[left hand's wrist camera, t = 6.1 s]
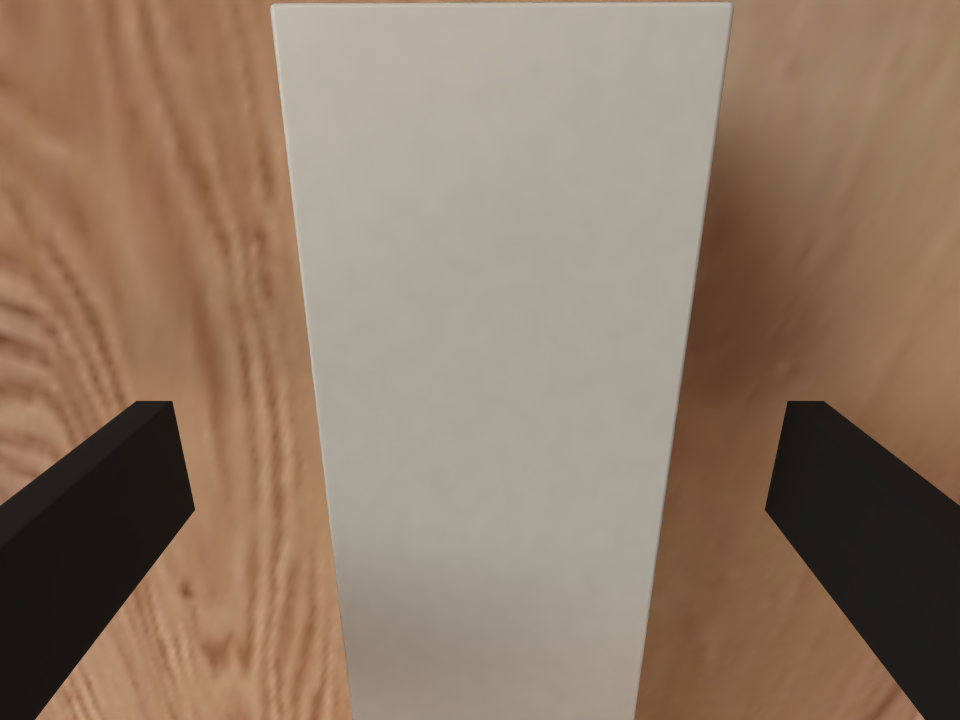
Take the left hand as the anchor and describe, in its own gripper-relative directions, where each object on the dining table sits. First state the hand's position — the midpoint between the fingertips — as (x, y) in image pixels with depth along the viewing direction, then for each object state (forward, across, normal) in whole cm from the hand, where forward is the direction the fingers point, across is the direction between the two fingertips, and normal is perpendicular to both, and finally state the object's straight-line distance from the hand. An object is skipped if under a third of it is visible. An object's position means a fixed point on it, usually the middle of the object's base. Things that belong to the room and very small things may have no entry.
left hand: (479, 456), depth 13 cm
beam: (+5, 0, -30) cm, 30 cm away
